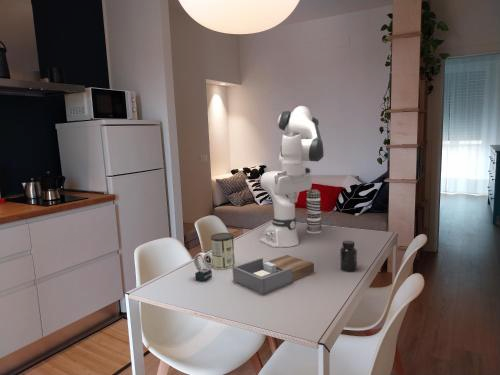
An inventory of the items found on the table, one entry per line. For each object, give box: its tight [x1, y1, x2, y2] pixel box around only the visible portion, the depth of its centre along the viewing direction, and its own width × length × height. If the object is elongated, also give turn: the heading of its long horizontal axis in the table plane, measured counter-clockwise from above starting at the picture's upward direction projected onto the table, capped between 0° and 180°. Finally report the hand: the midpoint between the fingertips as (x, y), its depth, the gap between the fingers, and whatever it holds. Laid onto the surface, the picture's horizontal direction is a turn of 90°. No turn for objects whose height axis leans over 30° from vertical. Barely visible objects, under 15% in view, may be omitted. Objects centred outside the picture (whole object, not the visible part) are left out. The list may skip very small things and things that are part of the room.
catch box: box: [232, 257, 294, 296], centre depth 147 cm, size 18×16×6 cm
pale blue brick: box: [263, 261, 276, 275], centre depth 150 cm, size 5×5×2 cm
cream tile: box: [253, 270, 271, 278], centre depth 147 cm, size 5×5×2 cm
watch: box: [193, 252, 213, 283], centre depth 152 cm, size 6×8×11 cm
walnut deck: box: [263, 254, 315, 282], centre depth 156 cm, size 16×14×4 cm
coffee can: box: [210, 232, 236, 270], centre depth 167 cm, size 10×10×14 cm
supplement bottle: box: [339, 240, 358, 273], centre depth 156 cm, size 7×7×12 cm
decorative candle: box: [305, 189, 322, 234], centre depth 216 cm, size 9×9×25 cm
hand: (293, 202), depth 157 cm, fingers closed
